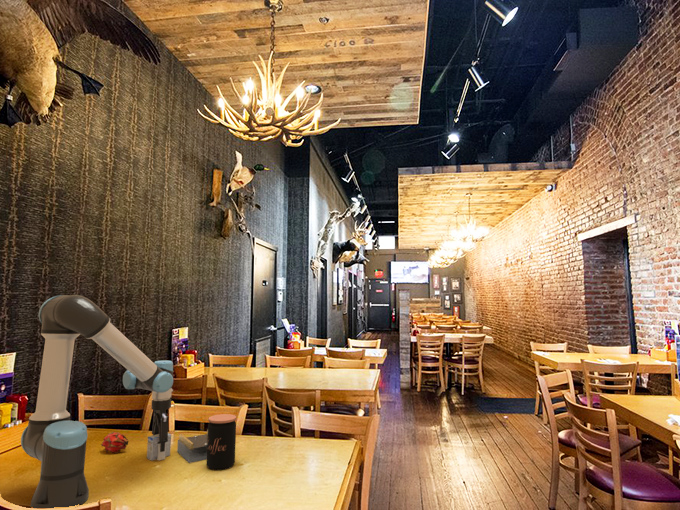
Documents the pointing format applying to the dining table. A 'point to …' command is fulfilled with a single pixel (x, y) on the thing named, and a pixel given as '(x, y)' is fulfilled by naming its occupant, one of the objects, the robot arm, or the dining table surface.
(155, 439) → the medicine box
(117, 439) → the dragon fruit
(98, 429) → the dining table surface
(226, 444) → the coffee jar
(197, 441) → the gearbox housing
